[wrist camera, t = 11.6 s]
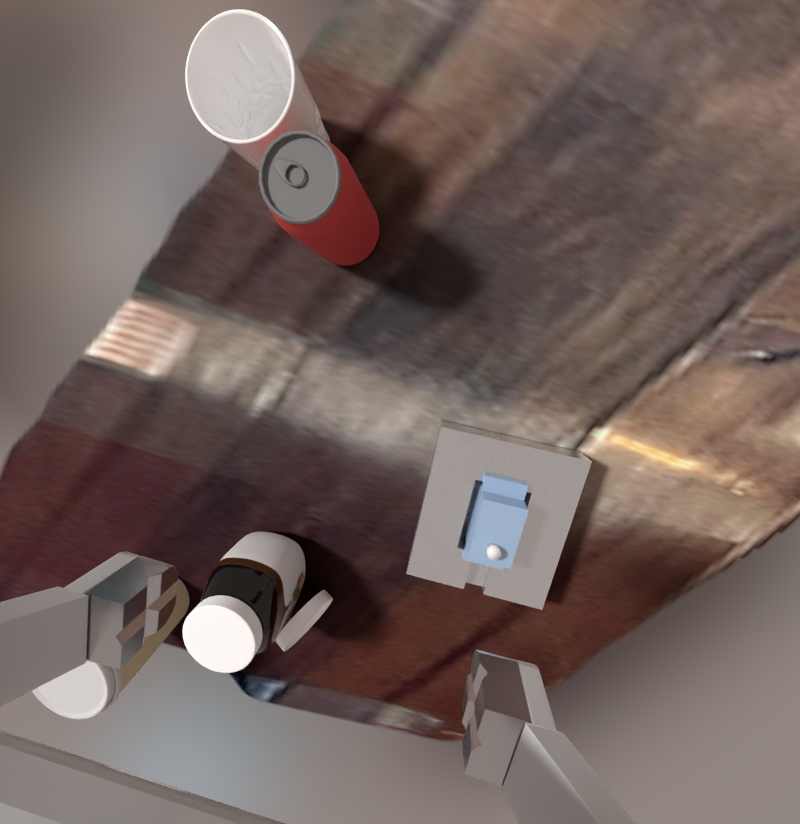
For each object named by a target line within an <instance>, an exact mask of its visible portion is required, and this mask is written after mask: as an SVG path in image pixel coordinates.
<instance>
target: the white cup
mask: <svg viewBox="0 0 800 824" xmlns="http://www.w3.org/2000/svg"><path fill="white" fill-rule="evenodd" d="M185 78H186V89H187V94H188V98H189V101H190V104H191V106H192V108H193V111H194V113H195V114H196V116H197V118H198V119H199V121H200V122H201V123H202V125H203V126H204V127H205V128H206V129H207V130H208V131H209V132H211V133H212V134H213V135H214V136H216V137H217V138H218V139H220V140H221V141H222V142H223V143H225V144H226V145H227V146H228V147H230V148H231V149H232V150H233V151H235V152H236V153H237V154H238V155H240V156H241V157H242V158H244V159H245V160H246V161H247V162H249V163H250V164H251V165H252V166H253V167H255V168H256V169H258V170H259V167H260V164H261V160H262V157H263V154H264V152H265V151H266V149H267V148H268V146H269V145H270V143H271V142H272V141H273V140H275V139H276V138H277V137H279V136H280V135H281V134H283V133H286V132H289V131H292V130H309V131H311V132H313V133H315V134H318V135H320V136H321V137H322V138H323V139H324V140H326V141H328V142H330V138H329V136H328V134H327V132H326V129H325V127H324V125H323V123H322V120H321V117H320V113H319V111H318V109H317V106H316V104H315V101H314V99H313V97H312V95H311V93H310V90H309V88H308V86H307V84H306V82H305V80H304V77H303V75H302V73H301V71H300V69H299V67H298V65H297V62H296V60H295V58H294V56H293V54H292V52H291V50H290V47H289V45H288V43H287V41H286V39H285V38H284V36H283V35H282V33H281V32H280V30H279V29H278V28H277V27H276V26H275V25H274V24H273V23H272V22H271V21H270V20H268V19H267V18H266V17H264V16H262V15H260V14H258V13H256V12H253V11H249V10H242V9H240V10H230V11H226V12H224V13H221V14H219V15H217V16H215V17H213V18H212V19H211V20H209V21H208V22H207V23H206V24H205V25H204V26H203V27H202V29H201V30H200V31H199V32H198V34H197V35H196V37H195V39H194V41H193V43H192V45H191V47H190V50H189V54H188V57H187V62H186V71H185Z"/></svg>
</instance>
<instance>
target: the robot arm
mask: <svg viewBox="0 0 800 824" xmlns="http://www.w3.org/2000/svg"><path fill="white" fill-rule="evenodd" d="M178 571H179V569H178V568H177V567H176V566H173V565H170V564H167V563H164V562H160V561H157V560H154V559H151V558H147V557H144V556H139V555H136V554H133V553H130V552H126V551H125V552H120V553H118V554H116V555H115V556H113V557H111V558H110V559H108V560H107V561H105V562H104V563H102V564H101V565H99V566H97V567H96V568H94V569H93V570H91V571H90V572H88V573H86V574H85V575H83V576H82V577H80V578H79V579H77V580H76V581H74V582H72V583H71V584H69V585H68V586H66V587H65V588H61V587H55V588H51V589H47V590H44V591H40V592H36V593H33V594H29V595H25V596H22V597H18V598H14V599H11V600H7V601H3V602H0V706H2V705H4V704H6V703H8V702H10V701H12V700H14V699H16V698H18V697H20V696H22V695H24V694H26V693H28V692H30V691H32V690H34V689H36V688H38V687H40V686H42V685H44V684H45V683H47V682H49V681H51V680H53V679H55V678H57V677H59V676H61V675H63V674H65V673H67V672H69V671H71V670H73V669H75V668H77V667H79V666H81V665H83V664H85V663H86V661H90V662H94V663H98V664H102V665H105V666H109V667H113V668H117V669H121V668H122V667H123V666H124V665H125V664H126V663H127V662H128V661H129V660H130V659H131V658H132V657H133V656H134V655H135V654H136V653H137V652H138V651H139V650H140V649H141V648H142V647H143V643H144V638H145V637H148V636H150V635H152V634H155V633H157V632H158V631H159V630H160V629H161V628H162V627H163V626H164V625H165V624H166V622H167V620H168V619H169V617H170V615H171V614H172V612H173V610H174V607H175V604H176V597H177V594H176V592H175V590H174V588H173V586H172V585H173V584H174V583H175V582H176V581H177V580H178ZM471 667H472V673H471V674H470V675H468V676H467V678H466V681H465V685H464V690H463V696H462V723H463V725H464V726H465V728H466V733H465V736H464V739H463V757H464V774H465V775H468V776H471V777H474V778H477V779H480V780H483V781H486V782H489V783H492V784H494V785H497V786H501V787H503V788H502V790H503V793H504V795H505V797H506V798H507V801H508V803H509V805H510V807H511V809H512V811H513V813H514V815H515V817H516V819H517V821H518V823H519V824H636V822H635V821H634V820H633V819H632V817H631V816H630V815H629V814H628V813H627V811H626V810H625V809H624V808H623V806H622V805H621V804H620V803H619V801H618V800H617V799H616V798H615V796H614V795H613V794H612V793H611V791H610V790H609V789H608V788H607V787H606V785H605V784H604V783H603V782H602V780H601V779H600V778H599V777H598V775H597V774H596V773H595V772H594V770H593V769H592V768H591V767H590V766H589V764H588V763H587V762H586V761H585V759H584V758H583V757H582V756H581V754H580V753H579V752H578V751H577V749H576V748H575V747H574V746H573V744H572V743H571V742H570V741H569V740H568V738H567V737H566V736H565V735H564V734H563V733H561V732H558V731H557V730H556V726H555V723H554V720H553V716H552V713H551V709H550V706H549V703H548V699H547V696H546V692H545V689H544V686H543V682H542V679H541V675H540V672H539V669H538V667H537V666H536V665H534V664H530V663H526V662H523V661H519V660H513V659H510V658H506V657H502V656H499V655H495V654H491V653H487V652H484V651H480V650H476V651H475V652H474V655H473V658H472V661H471ZM0 824H284V823H281V822H278V821H275V820H272V819H269V818H266V817H263V816H260V815H256V814H254V813H251V812H247V811H245V810H241V809H239V808H236V807H232V806H229V805H226V804H223V803H220V802H217V801H214V800H211V799H208V798H205V797H202V796H199V795H196V794H193V793H190V792H187V791H184V790H181V789H178V788H175V787H172V786H169V785H166V784H163V783H159V782H156V781H153V780H150V779H147V778H144V777H141V776H138V775H135V774H132V773H129V772H126V771H123V770H120V769H117V768H114V767H111V766H108V765H104V764H102V763H99V762H95V761H92V760H89V759H86V758H83V757H80V756H77V755H74V754H71V753H68V752H65V751H62V750H58V749H56V748H53V747H50V746H46V745H44V744H40V743H37V742H34V741H31V740H28V739H25V738H22V737H19V736H16V735H13V734H10V733H7V732H4V731H1V730H0Z"/></svg>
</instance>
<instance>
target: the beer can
mask: <svg viewBox="0 0 800 824" xmlns="http://www.w3.org/2000/svg"><path fill="white" fill-rule="evenodd" d="M259 185H260V189H261V193H262V197H263V198H264V200H265V202H266V204H267V205H268V207H269V209H270V211H271V213H272V214H273V216H274V218H275V219H276V221H277V223H278V224H279V225H280V226H281V227H282V228H283V229H284V230H285V231H286V232H287V233H289V234H290V235H291V236H293V237H294V238H296V239H297V240H299V241H300V242H302V243H303V244H304V245H306V246H307V247H309V248H310V249H312V250H313V251H315V252H316V253H318V254H319V255H321V256H322V257H323V258H325V259H326V260H328V261H330V262H332V263H334V264H337V265H344V266H349V265H353V264H357V263H359V262H361V261H362V260H364V259H365V258H367V257H368V256H369V254H370V253H371V252H372V251H373V249H374V248H375V245H376V243H377V240H378V238H379V221H378V216H377V213H376V211H375V209H374V207H373V206H372V204H371V202H370V200H369V198H368V196H367V194H366V193H365V191H364V189H363V187H362V185H361V183H360V181H359V180H358V178H357V176H356V174H355V172H354V170H353V169H352V167H351V165H350V163H349V161H348V159H347V158H346V156H345V155H344V154H343V153H342V152H341V151H340V150H339V149H338V148H337V147H335V146H334V145H333V144H332V143H330V142H328V141H326V140H324V139H323V138H322V137H321V136H320V135H318V134H315V133H313V132H311V131H309V130H292V131H289V132H286V133H283V134H281V135H280V136H279V137H277V138H276V139H275V140H273V141H272V142H271V143H270V145H269V146H268V148H267V149H266V151H265V152H264V154H263V157H262V160H261V164H260V167H259Z"/></svg>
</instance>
